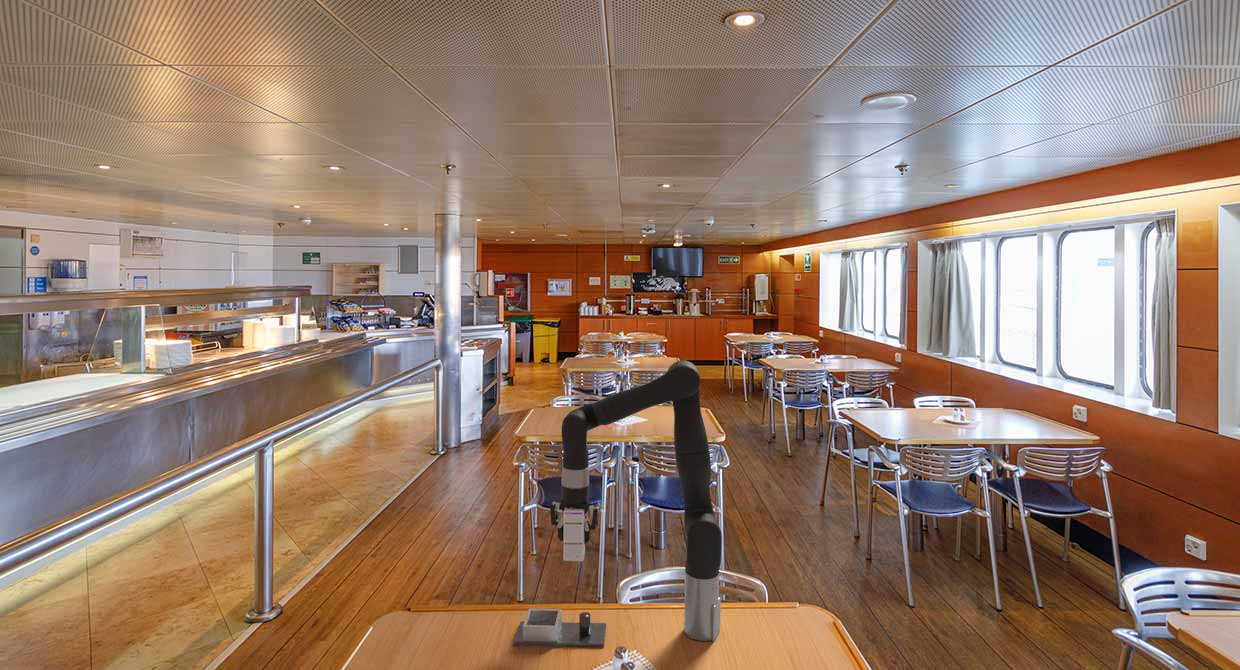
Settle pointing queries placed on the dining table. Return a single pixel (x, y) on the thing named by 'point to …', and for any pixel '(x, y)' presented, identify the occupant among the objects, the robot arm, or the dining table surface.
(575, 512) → the syrup box
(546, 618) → the bolt plate
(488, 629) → the dining table surface
